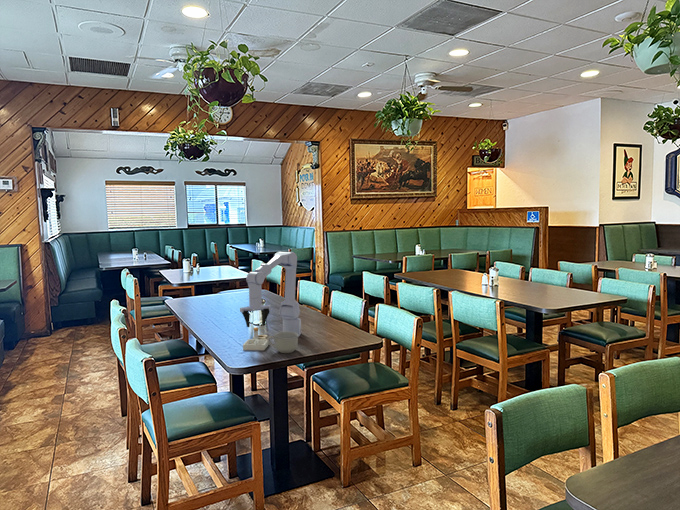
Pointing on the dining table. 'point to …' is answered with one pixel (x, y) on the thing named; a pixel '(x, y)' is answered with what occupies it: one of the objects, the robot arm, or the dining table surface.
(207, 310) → the dining table surface
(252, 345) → the tray
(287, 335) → the teacup
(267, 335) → the beige square frame
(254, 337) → the pin
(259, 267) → the robot arm
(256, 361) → the dining table surface
